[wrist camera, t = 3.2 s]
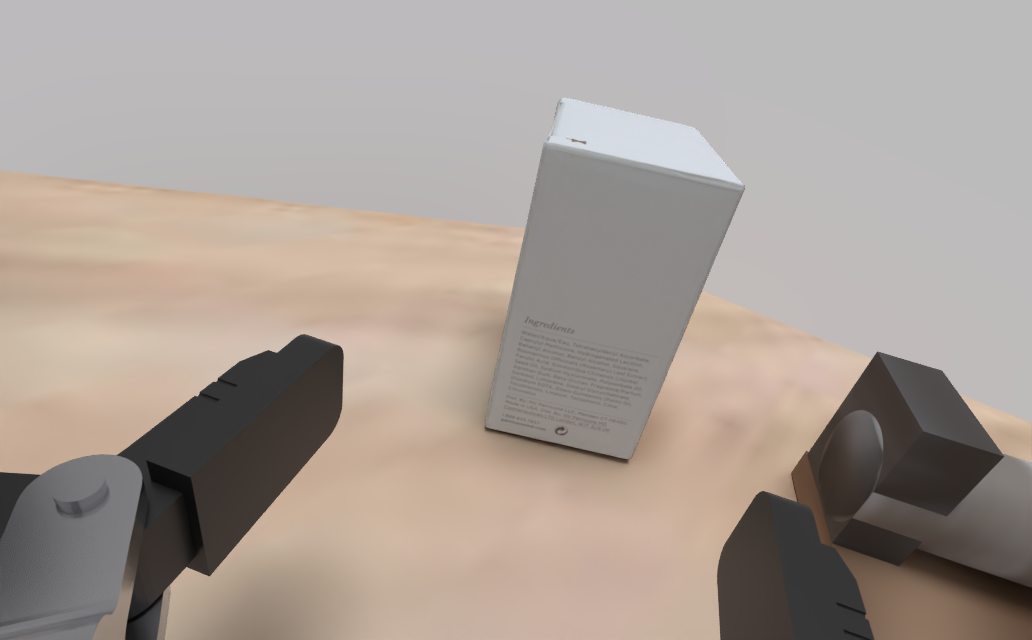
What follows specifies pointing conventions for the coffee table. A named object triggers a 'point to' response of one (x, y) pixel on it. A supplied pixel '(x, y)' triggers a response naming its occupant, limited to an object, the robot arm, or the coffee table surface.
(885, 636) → the stand
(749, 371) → the coffee table surface
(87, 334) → the coffee table surface
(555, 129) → the small box
